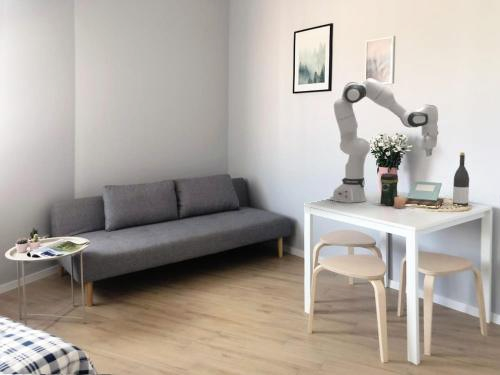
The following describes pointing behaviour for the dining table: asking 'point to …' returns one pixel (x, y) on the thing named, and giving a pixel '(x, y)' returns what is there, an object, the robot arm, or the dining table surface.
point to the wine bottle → (461, 184)
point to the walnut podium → (425, 202)
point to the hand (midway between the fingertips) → (428, 156)
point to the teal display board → (424, 191)
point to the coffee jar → (388, 188)
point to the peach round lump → (399, 202)
